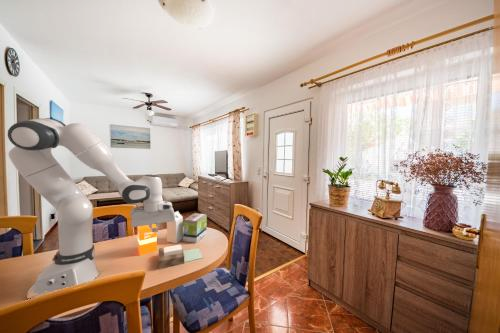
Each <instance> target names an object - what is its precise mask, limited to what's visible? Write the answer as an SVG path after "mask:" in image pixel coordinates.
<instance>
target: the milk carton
mask: <svg viewBox="0 0 500 333" xmlns="http://www.w3.org/2000/svg"><path fill="white" fill-rule="evenodd" d="M180 213H181V212H179V210H177V211H174V214H175V220H174V221H172V222H166V242H167V243H172V244H177V243H179V242H180V241H183V236H184V234H183V233H184V232H183V231H184V217H183V215H182V214H180Z"/></svg>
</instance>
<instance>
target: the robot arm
mask: <svg viewBox="0 0 500 333" xmlns="http://www.w3.org/2000/svg"><path fill="white" fill-rule="evenodd" d="M7 138H8V140H9V142H11V144H12V145H14V147H12V148H11V149H10V150H9V152H8V157H9V159H10V162H11V163H12V165H13V166H14V168H15V169H16V170H17V172H19V174H20V175H21V176H22V177H23V179H24V180H25V181H27V183H28V184H29V185H30V186H31V187H32V188H33V189H34V190H35V192H37V194H39V195H40V196H41V197H43V199H45V200H46V201H47V202H48V203H50V205H51V206H52V207H53V208H54V210H56V211H57V212H56V213H57V225H58V226H57V227H58V228H57V229H58V230H57V231H58V245H59V246H58V247H59V249H58V250H57V251H56V252H55V254H54V255H53V257H52V258H51V259H52V263H51V264H50V265H48V266H47V267H46V268H44V269H43V270H42V271H41V272H40V273H39V274H38V276H37V277H36V280H35V283H33V285H31V287H30V288H29V289H28V291H27V293H28V292H31V291H34V292H33V293H38V294H37V295H34V296H31V297H29V299H28V300H31V299H30V298H32V299H34V298H33V297H36V296H39V295H43V294H46V293H49V292H53V291H55V290H59V289H63V288H66V287H71V286H74V285H78V284H81V283H84V282H88V281H91V282H92V281H94V280H95V279H96V278H97V277H98V276H99V270H98V268H97V265H96V262H95V261H96V260H95V256H96V253H95V252H96V251H95V246H94V244H93V242H94V241H93V223H94V221H93V220H94V206H93V203H92V201H90V199H89V198H88V197H87V195H86V194H85V193H84V192H83V190H82V189H80V187H79V186H78V184H76V182H75V181H74V180H73V179H72V177H71V176H70V175H69V173H67V171H66V170H65V169H64V168H63V166H62V165H61V163H59V162H58V161H57V159H56V158H55V156H53V154H52V149H56V148H57V147H59V146H61V147H64V148H65V149H67V150H68V151H69V152H71V154H72V155H73V156H74V157H75V158H77V159H78V160H79V161H80V162H82V163H83V164H84V165H86V166H87V167H89V168H90V169H93V170H96V171H98V172H100V173H101V174H103V175H105V177H107V179H109V180H110V181H111V183H113V184H114V185H115V186H116V189H117V191H118V194H119V196H120V197H121V198H122V200H123V201H124V202H125V203H127V204H131V205H132V204H137V203H141V202H143V206H141V207H134V208H132V209H131V210H130V211H129V215H130V217H131V221H130V222H131V224H130V225H131V227H133V228H137V227H139V226H145V225H149V228H150V229H151V232H152V233H153V232H159V227H160V225H161V224H163V223H165V224H166V223H167V222H172V221H174V220H175V214H174V212H175V211H174V208H173V203H172V202H171V201H167V200H166V201H165V200H163V198H164V197H162V196H163V181H162V179H161V177H160V176H158V175H155V174H145V175H144V176H142V177H140V178H139V179H137V180H134V179H130V178H129V177H128V176H127V174H125V173H124V172H123V171H122V169H120V168H119V167H118V165H117V164H116V162H115V161H114V155H113V154H112V152H111V150H110V149H109V147H108V146H107V145H106V143H104V142H103V141H102V139H100V137H99V136H98V135H96V133H95V132H93V130H91V129H90V128H88V127H87V126H85V124H82V123H79V122H78V123H77V122H76V123H68V124H65V123H64V122H63V121H60V120H59V119H56V118H49V117H47V118H46V117H44V118H41V117H40V118H32V119H28V120H21V121H18V122H15V123H13V124H12V125H11V126H10V127H9V128H8V130H7ZM152 224H156V228H152ZM95 277H96V278H95ZM45 291H47V292H45ZM43 292H44V293H43ZM27 293H26V294H27Z"/></svg>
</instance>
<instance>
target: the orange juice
mask: <svg viewBox="0 0 500 333" xmlns="http://www.w3.org/2000/svg"><path fill="white" fill-rule="evenodd" d="M156 227H157V224H152V228H156ZM136 229H137V250H138V254H139V256H144V255H147V254H151V253H155V252H157V251H158V242H157V240H158V239H157V237H158V236H157V232H153V233H152V232H151V229H150V228H149V225H145V226H139V227H136Z"/></svg>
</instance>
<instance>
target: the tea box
mask: <svg viewBox="0 0 500 333" xmlns="http://www.w3.org/2000/svg"><path fill="white" fill-rule="evenodd" d="M207 216H208V215H207V214H205V213H196V212H195V213H192V214H191V215H189V216H187V217H186V218H185V219H184V218H183V239H182V241H183V242H186V243H194V244H195V243H196V244H197V243H198V242H199V241H200V240H202V238H203V237H204V236H205V235H207V226H208V225H207V223H208V222H207V219H208V217H207Z"/></svg>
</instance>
